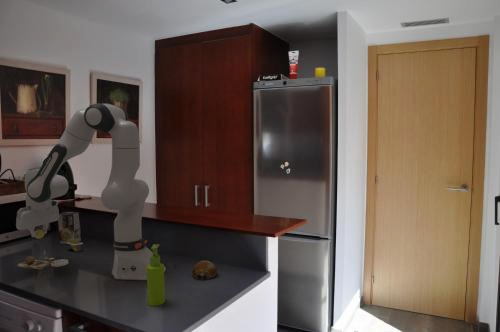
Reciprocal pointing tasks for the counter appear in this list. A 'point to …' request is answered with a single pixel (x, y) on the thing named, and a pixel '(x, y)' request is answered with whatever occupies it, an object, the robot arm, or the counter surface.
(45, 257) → the card
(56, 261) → the white bowl
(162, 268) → the soap dispenser
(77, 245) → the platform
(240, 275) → the counter surface
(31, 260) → the walnut ball
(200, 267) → the bread roll
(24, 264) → the twin rack
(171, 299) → the counter surface
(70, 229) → the coffee box
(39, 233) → the mustard ball
